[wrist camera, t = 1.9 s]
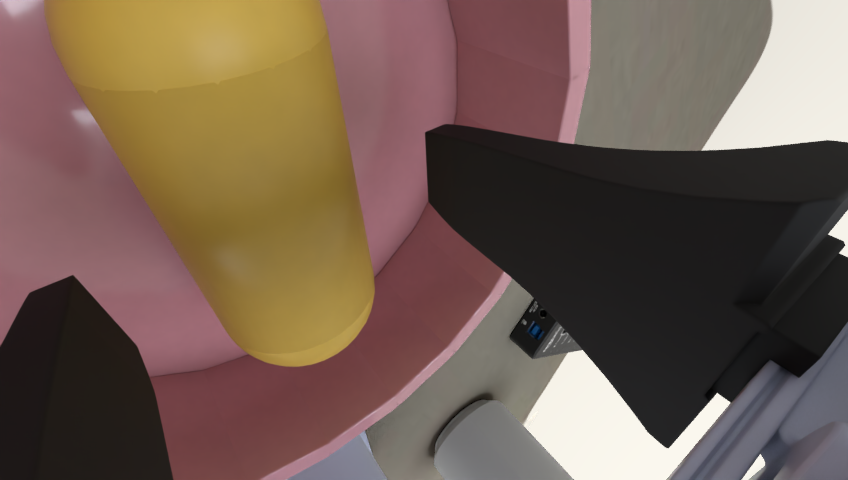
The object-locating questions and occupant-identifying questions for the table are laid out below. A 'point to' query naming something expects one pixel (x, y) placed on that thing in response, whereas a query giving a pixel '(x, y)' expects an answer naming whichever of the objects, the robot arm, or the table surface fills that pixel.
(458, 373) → the table surface
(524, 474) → the can
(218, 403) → the pot
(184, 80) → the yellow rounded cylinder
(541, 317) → the multiport hub
